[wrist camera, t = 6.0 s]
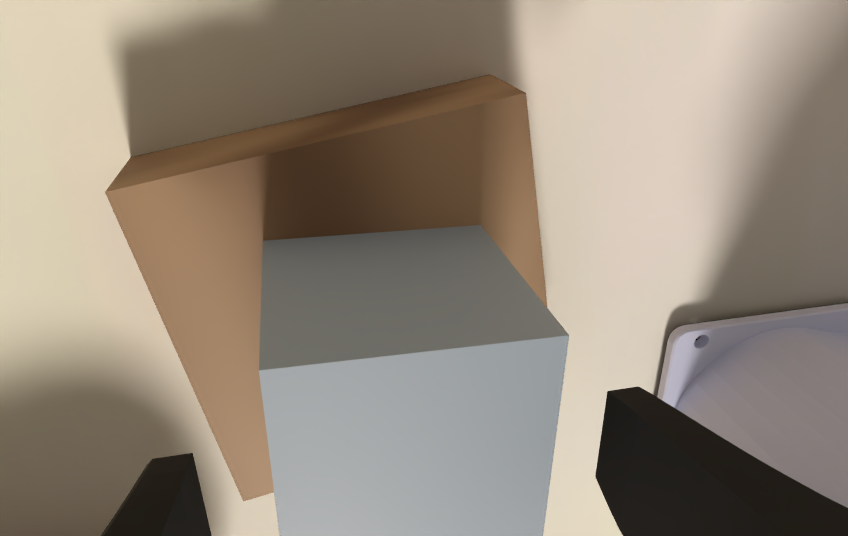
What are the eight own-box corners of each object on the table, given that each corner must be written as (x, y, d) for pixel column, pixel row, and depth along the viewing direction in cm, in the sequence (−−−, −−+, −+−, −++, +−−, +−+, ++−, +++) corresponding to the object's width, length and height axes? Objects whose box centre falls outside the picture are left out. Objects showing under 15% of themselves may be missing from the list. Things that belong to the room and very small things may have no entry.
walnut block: (485, 71, 16) (525, 93, 14) (520, 351, 20) (557, 408, 18) (134, 152, 15) (105, 192, 13) (247, 428, 19) (243, 501, 17)
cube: (480, 224, 15) (568, 335, 10) (471, 396, 17) (541, 547, 13) (262, 241, 14) (258, 370, 9) (282, 420, 16) (287, 594, 12)
